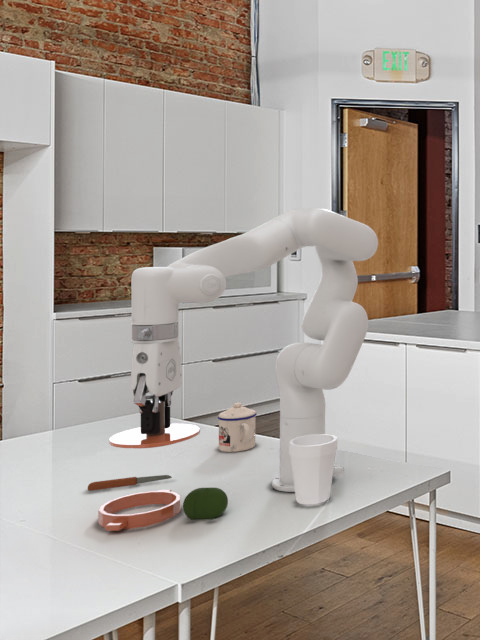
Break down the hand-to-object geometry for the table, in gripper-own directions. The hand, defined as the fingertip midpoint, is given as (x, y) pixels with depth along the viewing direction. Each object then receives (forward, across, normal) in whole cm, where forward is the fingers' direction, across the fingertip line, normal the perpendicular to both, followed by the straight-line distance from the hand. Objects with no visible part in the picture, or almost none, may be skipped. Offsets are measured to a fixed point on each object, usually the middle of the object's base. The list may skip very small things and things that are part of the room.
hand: (155, 429), depth 138 cm
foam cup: (+20, +14, -25) cm, 34 cm away
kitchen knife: (+20, +26, +18) cm, 37 cm away
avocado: (+19, +6, -6) cm, 21 cm away
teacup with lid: (+20, +54, +6) cm, 58 cm away
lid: (+1, 0, 0) cm, 1 cm away
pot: (+19, +7, +6) cm, 22 cm away
